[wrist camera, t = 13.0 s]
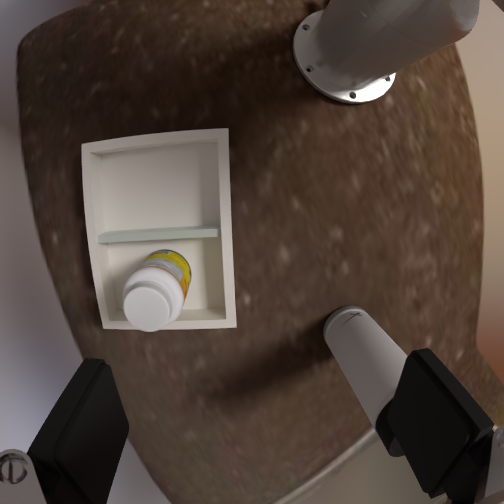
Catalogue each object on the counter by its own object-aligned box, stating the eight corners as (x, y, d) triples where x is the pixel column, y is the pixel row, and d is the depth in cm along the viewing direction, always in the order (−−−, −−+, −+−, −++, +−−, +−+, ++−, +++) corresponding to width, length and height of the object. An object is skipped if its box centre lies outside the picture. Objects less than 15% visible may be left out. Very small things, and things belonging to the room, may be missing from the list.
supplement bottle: (172, 305, 34) (154, 352, 24) (134, 274, 33) (101, 312, 23) (203, 269, 33) (193, 308, 24) (163, 236, 32) (137, 263, 22)
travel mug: (339, 295, 36) (428, 398, 17) (377, 316, 37) (468, 412, 18) (310, 336, 37) (370, 458, 18) (349, 355, 38) (418, 464, 19)
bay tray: (95, 146, 30) (81, 144, 26) (228, 133, 31) (228, 128, 27) (113, 315, 34) (103, 328, 31) (235, 313, 35) (236, 327, 32)
